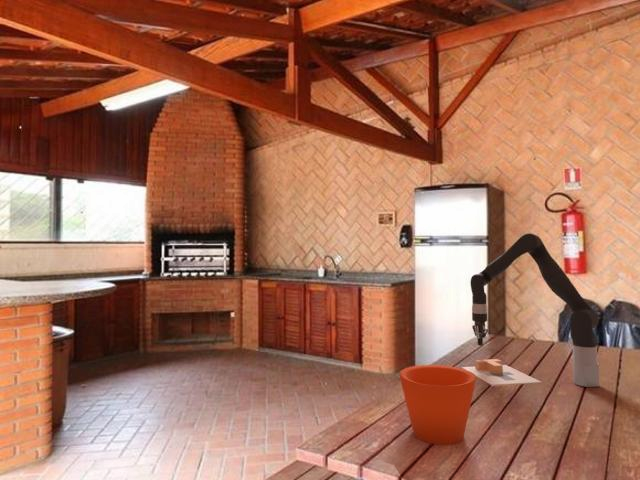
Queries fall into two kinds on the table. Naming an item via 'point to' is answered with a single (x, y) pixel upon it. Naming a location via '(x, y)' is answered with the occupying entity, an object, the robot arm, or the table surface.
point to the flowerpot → (438, 401)
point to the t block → (490, 365)
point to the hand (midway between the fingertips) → (480, 345)
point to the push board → (503, 376)
